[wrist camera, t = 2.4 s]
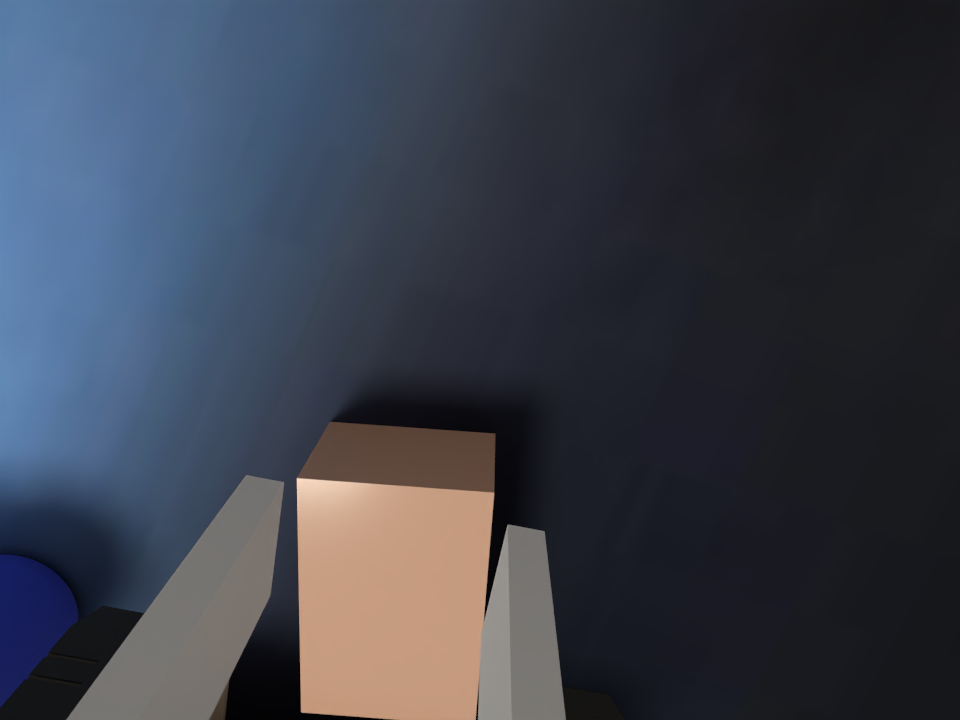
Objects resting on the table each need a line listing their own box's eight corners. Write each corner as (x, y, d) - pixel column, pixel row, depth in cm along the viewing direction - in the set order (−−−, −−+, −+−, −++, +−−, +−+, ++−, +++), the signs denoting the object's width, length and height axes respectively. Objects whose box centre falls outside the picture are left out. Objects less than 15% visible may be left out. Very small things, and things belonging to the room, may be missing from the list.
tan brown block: (331, 420, 34) (296, 478, 28) (495, 431, 34) (494, 492, 28) (331, 624, 38) (301, 712, 32) (479, 635, 38) (475, 725, 32)
